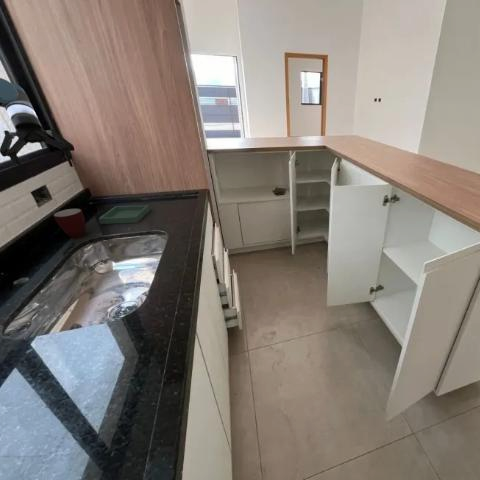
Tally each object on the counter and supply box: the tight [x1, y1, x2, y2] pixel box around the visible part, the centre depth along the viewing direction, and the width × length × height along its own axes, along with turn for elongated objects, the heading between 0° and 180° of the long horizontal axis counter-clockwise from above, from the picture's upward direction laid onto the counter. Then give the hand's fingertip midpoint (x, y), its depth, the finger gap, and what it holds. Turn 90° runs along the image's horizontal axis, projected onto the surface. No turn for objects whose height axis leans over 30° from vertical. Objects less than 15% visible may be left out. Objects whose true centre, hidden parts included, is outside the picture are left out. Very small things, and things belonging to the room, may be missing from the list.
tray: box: [98, 204, 151, 225], centre depth 121 cm, size 15×15×3 cm
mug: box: [53, 208, 87, 239], centre depth 103 cm, size 11×8×10 cm
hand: (48, 167), depth 100 cm, fingers open, 13 cm apart
